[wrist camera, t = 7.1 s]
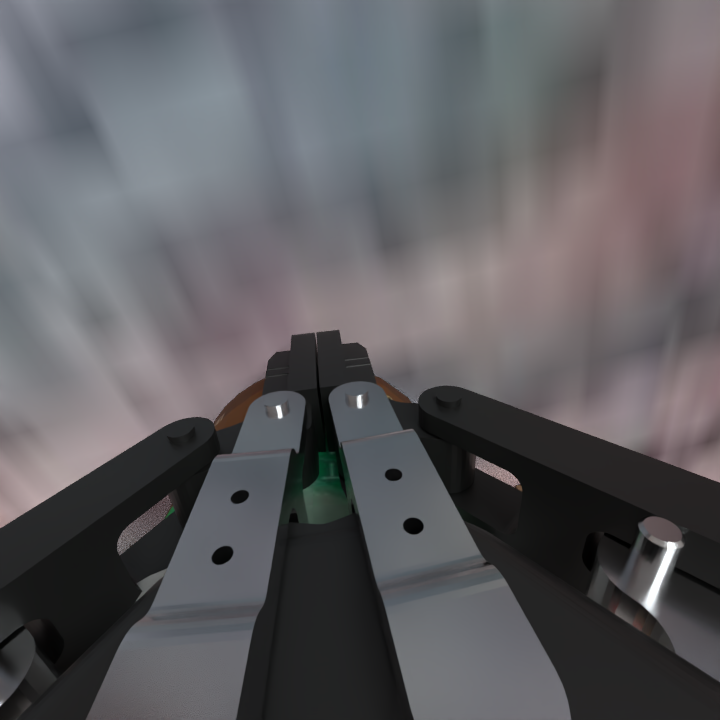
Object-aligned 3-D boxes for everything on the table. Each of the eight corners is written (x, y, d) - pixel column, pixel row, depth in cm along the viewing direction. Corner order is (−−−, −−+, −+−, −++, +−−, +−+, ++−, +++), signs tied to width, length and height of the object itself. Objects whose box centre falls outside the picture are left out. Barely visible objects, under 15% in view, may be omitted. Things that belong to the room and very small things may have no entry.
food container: (499, 349, 15) (767, 637, 6) (458, 471, 18) (603, 788, 9) (147, 321, 13) (-186, 692, 4) (163, 464, 16) (-16, 865, 7)
